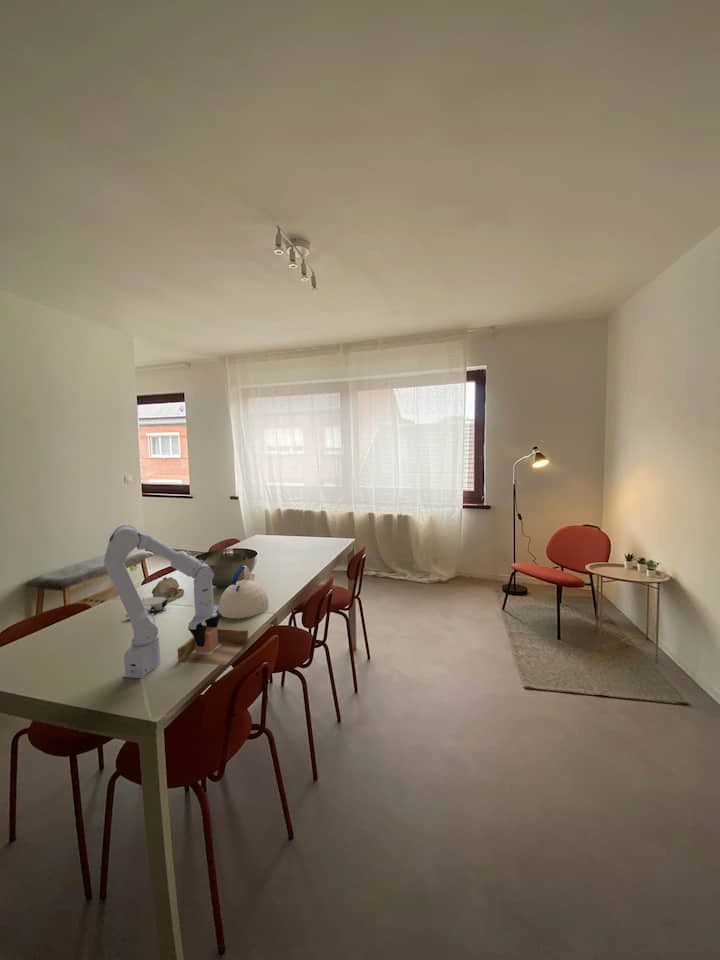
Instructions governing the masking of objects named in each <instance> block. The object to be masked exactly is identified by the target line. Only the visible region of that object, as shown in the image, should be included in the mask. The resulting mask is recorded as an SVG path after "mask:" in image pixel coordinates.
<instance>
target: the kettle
mask: <svg viewBox="0 0 720 960" xmlns="http://www.w3.org/2000/svg"><path fill="white" fill-rule="evenodd" d="M243 571H244V572H243ZM242 572H243V573H244V579H242V580H238V579H239V576H240V575H241V573H242ZM255 577H256V574H255V573H254V572H250V569H249V567H248V566H246V565H241V566H240V567H238V569H237V570H235V573H234V574H233V576H232V579H231V582H230V585H229V586H228V587H227V588H226V589H225V590H224V591H223V593H222V594H221V596H220V600H219V602H218V603H219V604H218V605H219V608H220V611H219V612H218V613H221V617H224V618H227V619H234V618H236V619H245V617H247V618H251V617H254V615H255V616H257V614H258V615H260V614H262V613H264V612H265V611H266V610H268V609H269V607H270V604H269V596H268V593H267V591H266V590H265V588H264V587H263V586H262V585H261V584H259V583H258V582H256V581H254V580H255ZM250 616H251V617H250Z"/></svg>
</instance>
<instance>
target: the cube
mask: <svg viewBox="0 0 720 960" xmlns="http://www.w3.org/2000/svg"><path fill="white" fill-rule="evenodd" d="M217 628H218V626H217V627H207V628H206V632H205V643H204V646H203V647H200V646H197V644H196V641H195V646H196V651H197V652H211V651H212V650H213V649H214V648H215V647H217V646H218V631H217Z"/></svg>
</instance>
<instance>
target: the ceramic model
mask: <svg viewBox="0 0 720 960" xmlns="http://www.w3.org/2000/svg"><path fill="white" fill-rule="evenodd" d="M151 594H152V597H164V598H166V599H167V601H169V599H170V598H171V599H170V601H169V602H168V604H169V603H172V602H173V601H174V602H175V601H176V600H178V599H181V597H183V596H184V595H185V589H184V588H180V584H179V583H178V580H177V579H176V578H173V577H167V576H165V577H163V578H162V579H161V580H159V581H158V582H157V584H156V585H155V586H154V587H153V588H152V590H151Z"/></svg>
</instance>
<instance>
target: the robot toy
mask: <svg viewBox="0 0 720 960" xmlns="http://www.w3.org/2000/svg"><path fill="white" fill-rule="evenodd" d="M170 599H171V598H170ZM170 599H169V601H170ZM141 601H142V603H143V605H144V607H145V608H146V610H147V612H148V613H149V614H150V615H152V616H153V617H154V616H155V611H161V610H162V609H164V608H166V607H167V605H168V604H169V603H170V602H169V601H167V599H166V598H164V597H153V596H151V597H146V598H145V597H143V598H142V599H141ZM168 602H169V603H168ZM125 617H126V618H129V615H128V613H126V614H125Z"/></svg>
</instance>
